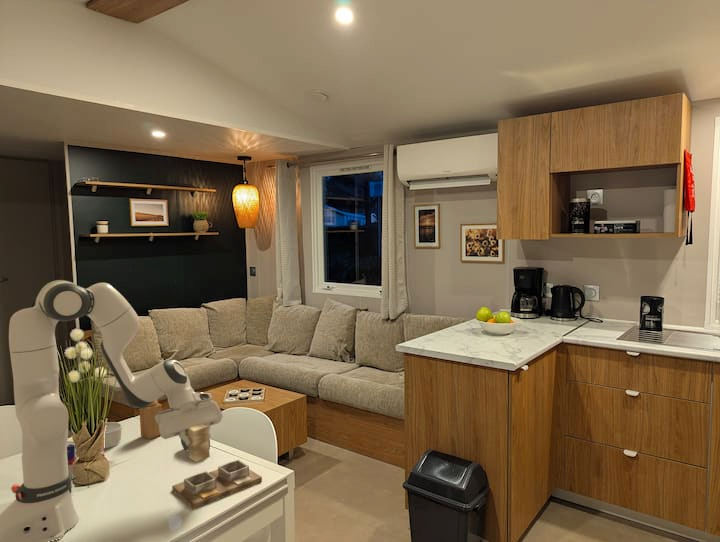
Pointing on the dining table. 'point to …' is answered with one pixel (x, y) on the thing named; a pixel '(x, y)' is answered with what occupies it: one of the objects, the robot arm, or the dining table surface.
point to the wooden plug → (198, 442)
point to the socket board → (216, 483)
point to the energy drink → (71, 457)
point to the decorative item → (150, 420)
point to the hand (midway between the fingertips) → (199, 441)
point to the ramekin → (112, 434)
